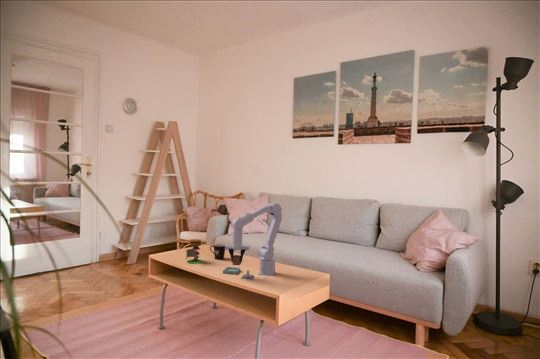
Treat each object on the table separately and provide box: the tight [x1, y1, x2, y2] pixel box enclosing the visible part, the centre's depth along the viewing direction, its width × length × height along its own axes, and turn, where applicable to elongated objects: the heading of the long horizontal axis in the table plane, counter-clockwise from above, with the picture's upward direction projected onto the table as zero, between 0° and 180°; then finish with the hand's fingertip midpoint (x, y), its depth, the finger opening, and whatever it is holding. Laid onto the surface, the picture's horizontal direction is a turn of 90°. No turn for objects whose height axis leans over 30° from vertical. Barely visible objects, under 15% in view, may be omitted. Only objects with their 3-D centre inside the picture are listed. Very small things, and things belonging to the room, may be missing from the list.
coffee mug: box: [209, 243, 227, 261], centre depth 258 cm, size 12×9×10 cm
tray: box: [222, 266, 241, 275], centre depth 225 cm, size 9×9×2 cm
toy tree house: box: [185, 239, 204, 265], centre depth 247 cm, size 12×13×15 cm
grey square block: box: [241, 269, 255, 280], centre depth 214 cm, size 6×6×4 cm
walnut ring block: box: [232, 254, 242, 266], centre depth 215 cm, size 4×4×5 cm
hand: (236, 261), depth 215 cm, fingers closed on walnut ring block, 4 cm apart
